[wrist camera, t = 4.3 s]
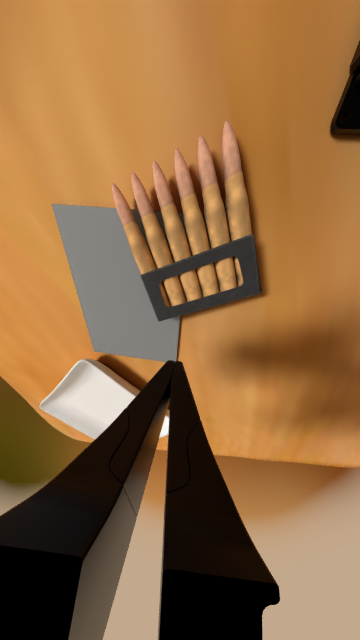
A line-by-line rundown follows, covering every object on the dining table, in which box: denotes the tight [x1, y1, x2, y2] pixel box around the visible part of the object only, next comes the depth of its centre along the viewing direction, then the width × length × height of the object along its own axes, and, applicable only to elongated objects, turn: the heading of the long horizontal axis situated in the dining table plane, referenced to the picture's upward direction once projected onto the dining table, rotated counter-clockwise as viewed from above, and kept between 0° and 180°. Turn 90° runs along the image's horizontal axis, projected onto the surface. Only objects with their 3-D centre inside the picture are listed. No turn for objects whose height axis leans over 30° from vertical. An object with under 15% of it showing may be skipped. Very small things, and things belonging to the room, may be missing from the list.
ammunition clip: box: [112, 121, 261, 322], centre depth 12 cm, size 11×2×12 cm
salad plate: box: [39, 359, 169, 439], centre depth 27 cm, size 21×21×3 cm
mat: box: [52, 204, 187, 362], centre depth 16 cm, size 13×18×1 cm
